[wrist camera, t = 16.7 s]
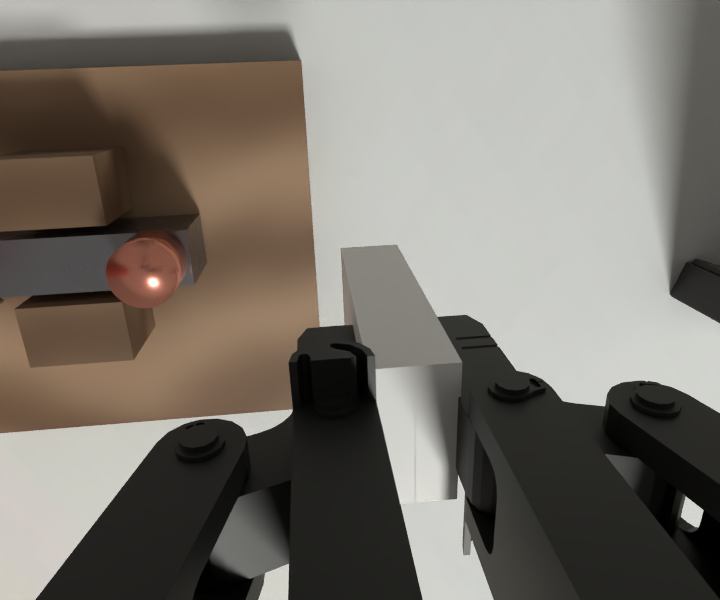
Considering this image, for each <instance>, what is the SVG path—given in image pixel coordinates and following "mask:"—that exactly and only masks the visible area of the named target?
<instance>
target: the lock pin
mask: <svg viewBox="0 0 720 600" xmlns="http://www.w3.org/2000/svg"><path fill="white" fill-rule="evenodd" d="M206 264H207V259H206V252H205V245H204V238H203V230H202V223H201V216H200V214H188V215H170V216H151V217H133V218H117V219H116V220H114V221H113V222H111V223H110V224H108V225H107V226H92V227H74V228H56V229H39V230H21V231H3V232H0V298H2V297H18V296H33V295H49V294H64V293H80V292H95V291H112V292H113V293H114V295H115V296H116V297H117V298H118V299H120V300H121V301H122V302H124V303H126V304H128V305H130V306H133V307H137V308H153V307H157V306H159V305H161V304H163V303H165V302H166V301H167V300H168V299H169V298H170V297H171V296H172V294H173V293H174V291H175V290H176V288H177V287H178V286H188V285H195V283H196V282H197V280H198V278H199V276H200V275H201V273H202V271H203V269H204V268H205V266H206Z"/></svg>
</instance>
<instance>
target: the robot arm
mask: <svg viewBox="0 0 720 600" xmlns="http://www.w3.org/2000/svg"><path fill="white" fill-rule="evenodd" d="M341 261H342V281H343V301H344V321H345V325H343V326H329V327H315V328H307V329H306V330H305V331H304V332H303V334H302V335H301V336H300V337H299V338H298V339H297V351H296V352H294V353H293V354H292V355H291V358H290V360H289V362H288V364H289V374H290V385H291V395H292V406H293V412H292V414H291V415H290V416H289V417H288V418H287V419H286V420H285V421H284V422H282V423H281V424H279V425H277V426H275V427H274V428H272V429H269V430H266V431H263V432H261V433H258V434H254V435H251V436H246V434H245V432H244V430H243V428H242V427H240V426H239V425H237V424H235V423H234V422H232V421H227V420H221V419H203V420H197V421H194V422H190V423H187V424H183V425H181V426H180V427H178V428H176V429H174V430H172V431H170V432H168V433H167V434H166V435H165V436H164V437H163V438H161V439H160V440H159V441H158V442H157V443H156V444H155V446H154V447H153V448H152V450H151V451H150V452H149V453H148V455H147V456H146V457H145V459H144V460H143V461H142V463H141V464H140V465H139V466H138V468H137V469H136V470H135V472H134V473H133V474H132V475H131V477H130V478H129V479H128V481H127V482H126V483H125V485H124V486H123V487H122V488H121V490H120V491H119V492H118V494H117V495H116V496H115V498H114V499H113V500H112V501H111V503H110V504H109V505H108V507H107V508H106V509H105V510H104V512H103V513H102V514H101V516H100V517H99V518H98V520H97V521H96V522H95V523H94V525H93V526H92V527H91V529H90V530H89V531H88V532H87V534H86V535H85V536H84V538H83V539H82V540H81V542H80V543H79V544H78V545H77V547H76V548H75V549H74V551H73V552H72V553H71V554H70V556H69V557H68V558H67V560H66V561H65V562H64V564H63V565H62V566H61V567H60V569H59V570H58V571H57V573H56V574H55V575H54V576H53V578H52V579H51V580H50V582H49V583H48V584H47V586H46V587H45V588H44V589H43V591H42V592H41V593H40V595H39V596H38V597H37V598H36V600H258V598H259V595H260V592H261V590H262V587H263V583H264V575H265V573H266V572H269V571H271V570H274V569H276V568H279V567H281V566H284V565H286V564H289V594H288V600H422V595H421V591H420V587H419V583H418V578H417V574H416V570H415V565H414V561H413V557H412V552H411V548H410V544H409V540H408V535H407V531H406V527H405V522H404V518H403V514H402V509H401V505H400V504H408V503H418V502H428V501H438V500H449V499H457V484H458V475H459V478H460V480H461V483H462V485H463V488H464V490H465V505H464V526H463V554H464V555H470V546H471V541H473V543H474V546H475V549H476V552H477V554H478V557H479V560H480V563H481V565H482V568H483V571H484V574H485V576H486V579H487V582H488V585H489V588H490V590H491V593H492V596H493V599H494V600H720V413H718V412H717V411H715V410H713V409H711V408H710V407H708V406H706V405H705V404H703V403H701V402H700V401H698V400H696V399H694V398H693V397H691V396H689V395H688V394H685V393H683V392H681V391H679V390H677V389H674V388H672V387H669V386H665V385H661V384H659V383H657V382H650V381H647V382H646V381H633V382H623V383H620V384H618V385H616V386H613V387H611V389H610V391H609V392H608V394H607V399H606V405H605V407H604V406H595V405H585V404H575V403H569V402H563V401H562V400H561V399H560V397H559V396H558V395H557V394H556V392H555V391H554V390H553V388H552V387H551V386H550V385H548V384H547V383H546V382H545V381H544V380H542V379H540V378H538V377H536V376H533V375H531V374H529V373H524V372H519V371H516V370H515V368H514V367H513V366H512V364H511V363H510V361H509V360H508V359H507V357H506V356H505V354H504V353H503V352H502V350H501V349H500V348H499V347H497V343H496V342H495V341H494V339H493V338H492V337H491V336H490V334H489V332H488V331H487V330H486V328H485V327H484V326H483V324H482V323H480V322H478V321H476V320H474V319H473V318H471V317H469V316H467V315H458V316H444V317H437V316H436V314H435V312H434V311H433V309H432V307H431V305H430V303H429V302H428V300H427V298H426V296H425V294H424V293H423V291H422V289H421V287H420V285H419V284H418V282H417V280H416V278H415V276H414V275H413V273H412V271H411V269H410V268H409V266H408V264H407V262H406V260H405V259H404V257H403V255H402V253H401V251H400V250H399V248H398V246H397V245H384V246H368V247H352V248H341ZM685 496H686V497H688V498H689V499H690V500H692V501H693V502H694V503H695V504H697V505H698V506H699V507H701V508H702V509H703V510H704V512H703V516H702V519H701V523H700V526H699V528H697V527H694V526H692V525H691V524H689V523H687V522H686V521H685V520H684V519H683V518H681V513H682V508H683V504H684V500H685Z"/></svg>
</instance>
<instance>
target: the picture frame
mask: <svg viewBox="0 0 720 600" xmlns="http://www.w3.org/2000/svg"><path fill="white" fill-rule="evenodd" d="M671 296H672V297H674V298H675V299H677V300H679V301H681V302H683V303H684V304H686V305H688V306H690V307H692V308H693V309H695V310H697V311H699V312H701V313H702V314H704V315H706V316H708V317H710V318H711V319H713V320H715V321H717V322H719V323H720V266H719V265H715V264H712V263H708V262H705V261H702V260H698V259H695V260H694V262H693V264H692V263H689V262H687V263H686V265H685V267H684V269H683V271H682V273H681V275H680V277H679V278H678V280H677V282H676V284H675V286H674V288H673V290H672V292H671Z"/></svg>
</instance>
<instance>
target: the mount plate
mask: <svg viewBox="0 0 720 600" xmlns="http://www.w3.org/2000/svg"><path fill="white" fill-rule="evenodd" d="M188 214H200V216H201V223H202V230H203V238H204V245H205V252H206V259H207V264H206V266H205V268H204V269H203V271H202V273H201V275H200V276H199V278H198V280H197V282H196V283H195V285H188V286H178V287H177V288H176V290H175V291H174V293H173V294H172V296H171V297H170V298H169V299H168V300H167V301H166V302H165V303H163V304H161V305H159V306H157V307H153V308H137V307H133V306H130V305H128V304H126V303H124V302H122V301H121V300H120V299H118V298H117V297H116V296H115V295H114V293H113V292H112V291H95V292H80V293H64V294H49V295H33V296H18V297H2V298H0V299H2V300H3V301H4V302H3V304H2V305H1V306H0V433H8V432H20V431H33V430H45V429H57V428H69V427H81V426H93V425H106V424H118V423H130V422H142V421H154V420H166V419H179V418H191V417H203V416H215V415H227V414H239V413H252V412H264V411H276V410H288V409H293V406H292V395H291V385H290V374H289V364H288V362H289V360H290V358H291V355H292V354H293V353H294V352H296V351H297V339H298V338H299V337H300V336H301V335H302V334H303V332H304V331H305V330H306V329H307V328H315V327H319V312H318V297H317V283H316V268H315V254H314V239H313V225H312V210H311V196H310V181H309V167H308V152H307V138H306V123H305V108H304V94H303V79H302V65H301V60H293V61H265V62H236V63H208V64H180V65H152V66H123V67H95V68H67V69H39V70H11V71H0V232H3V231H21V230H39V229H56V228H74V227H92V226H107V225H108V224H110V223H111V222H113V221H114V220H116V219H117V218H133V217H151V216H170V215H188Z"/></svg>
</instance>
